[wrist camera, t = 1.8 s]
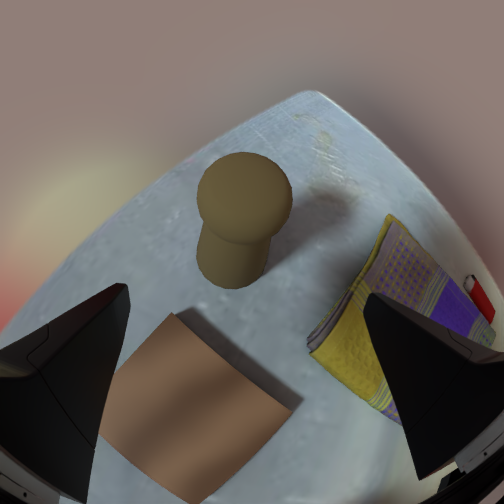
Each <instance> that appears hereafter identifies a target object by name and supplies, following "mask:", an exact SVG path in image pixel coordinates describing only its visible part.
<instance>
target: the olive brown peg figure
mask: <svg viewBox="0 0 504 504" xmlns="http://www.w3.org/2000/svg"><path fill="white" fill-rule="evenodd" d="M292 201H293V198H292V187H291V185H290V183H289V181H288V178H287V176H286V174H285V173H284V172H283V170H282V169H281V168H280V167H279V166H278V165H277V164H276V163H275V162H273V161H272V160H270V159H268V158H267V157H265V156H262V155H259V154H256V153H248V152H238V153H232V154H229V155H226V156H224V157H222V158H220V159H218V160H216V161H215V162H214V163H213V164H212V165H211V166H210V167H208V168H207V169H206V171H205V173H204V175H203V176H202V178H201V180H200V182H199V185H198V192H197V205H198V209H199V213H200V216H201V218H202V220H203V221H204V222H203V226H202V230H201V234H200V238H199V242H198V246H197V255H196V259H197V263H198V266H199V269H200V271H201V272H202V274H203V275H204V277H205V278H206V279H208V280H209V281H210V282H211V283H213V284H214V285H216V286H219V287H222V288H225V289H239V288H242V287H246V286H248V285H250V284H251V283H253V282H254V281H256V280H257V279H258V277H259V276H260V275H261V274H262V272H263V270H264V267H265V264H266V261H267V256H268V251H269V246H270V240H271V236H273V235H274V234H276V233H278V231H279V230H280V229H281V228H282V226H283V225H284V224H285V222H286V221H287V219H288V218H289V214H290V211H291V208H292Z"/></svg>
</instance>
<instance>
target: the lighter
mask: <svg viewBox="0 0 504 504" xmlns="http://www.w3.org/2000/svg"><path fill="white" fill-rule="evenodd" d="M464 283H465V285H463V286H464V288H465V289H466V291H467V292H468V294H469V295H470V297H471V298H472V300H473V302H474V303H475V305H476V306H477V308H478V310H479V311H480V312H481V313H482V315H483V316H484V317H485V319H486V320H487V321H488V323H489V325H490V324H491V323H492V321H493V318H494V315H495V310H494V308H493V306H492V304H491V302H490V301H489V299H488V297H487V295H486V294H485V292H484V290H483V289H482V287H481V285H480V284H479V282H478V281H477V279H476V277H475V276H474V275H469V276H468V277H466V280H465V282H464Z"/></svg>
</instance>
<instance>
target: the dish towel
mask: <svg viewBox="0 0 504 504" xmlns="http://www.w3.org/2000/svg"><path fill="white" fill-rule="evenodd" d="M372 292H380V293H382V294H384V295H386V296H388V297H390V298H392V299H394V300H395V301H397V302H399V303H401V304H403V305H405V306H407V307H409V308H411V309H413V310H415V311H417V312H419V313H421V314H422V315H424V316H426V317H428V318H430V319H432V320H434V321H436V322H438V323H440V324H441V325H443V326H445V327H446V328H449V329H451V330H453V331H455V332H457V333H459V334H460V335H462V336H464V337H466V338H468V339H471V340H473V341H475V342H477V343H479V344H481V345H483V346H485V347H487V348H490V349H491V346H492V344H493V341H494V339H495V336H496V334H495V333H496V332H495V331H494V330H493V329H492V328H491V326H490V325H489V323H488V321H487V320H486V319H485V317H484V316H483V315H482V313H481V312H480V311H479V310H478V309H477V308H476V306H475V305H474V304H473V303H472V302H471V301H470V300H469V299H468V298H467V296H466V295H465V294H464V293H462V291H461V290H460V289H459V287H458V286H457V285H456V284H455V282H454V281H453V280H452V279H451V278H450V276H449V275H448V274H447V273H446V272H445V271H443V269H442V268H441V267H440V266H439V265H438V264H437V263H436V262H435V260H434V259H433V258H432V257H431V256H430V255H429V254H428V253H427V252H426V251H425V250H423V248H422V247H421V246H420V245H419V243H418V242H417V241H416V240H414V239H413V238H412V236H411V235H410V234H409V232H408V231H407V230H406V228H405V227H404V226H403V225H402V224H401V223H400V222H399V221H398V220H397V219H396V218H395V217H393V216H392V215H391V214H388V215H387V216H386V218H385V221H384V223H383V226H382V228H381V230H380V232H379V235H378V237H377V240H376V243H375V246H374V247H373V249H372V251H371V253H370V255H369V257H368V259H367V261H366V264H365V265H364V267H363V269H362V270H361V271H360V273H359V274H358V275H357V276H356V277H355V279H354V281H353V282H352V283H351V285H350V286H349V288H348V289H347V290H346V291H345V293H344V294H343V295H342V296H341V298H340V299H339V300H338V302H337V303H336V304H335V305H334V306H333V308H332V309H331V310H330V311H329V312H328V314H327V315H326V316H325V317H324V319H323V320H322V321H321V322H320V323H319V325H318V326H317V327H316V328H315V329H314V330H313V331H312V333H311V334H310V335H309V337H307V341H308V343H307V347H308V348H309V349H310V350H311V352H310V353H309V355H310V356H311V357H313V358H314V359H315V360H316V361H317V362H318V363H319V364H320V365H322V366H323V367H324V368H325V369H326V370H327V371H328V372H329V373H330V374H331V375H332V376H334V377H335V378H336V379H338V380H339V381H340V382H341V383H343V384H344V385H345V386H346V387H347V388H349V389H350V390H351V391H352V392H353V393H355V394H356V395H358V396H359V397H360V398H361V399H363V400H365V401H366V402H367V403H368V404H369V405H370V406H372V407H373V408H375V409H376V410H378V411H380V412H381V413H382V414H383V415H385V416H387V417H388V418H389V419H392V420H393V421H394V422H396V423H398V424H399V425H401V426H402V423H401V420H400V417H399V414H398V412H397V409H396V406H395V403H394V400H393V397H392V395H391V392H390V389H389V387H388V384H387V381H386V379H385V376H384V373H383V371H382V368H381V366H380V363H379V361H378V358H377V356H376V353H375V351H374V348H373V346H372V343H371V339H370V336H369V333H368V329H367V326H366V323H365V320H364V317H363V309H364V306H365V303H366V301H367V298H368V295H369V294H370V293H372Z"/></svg>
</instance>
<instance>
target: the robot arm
mask: <svg viewBox="0 0 504 504" xmlns="http://www.w3.org/2000/svg"><path fill="white" fill-rule="evenodd" d="M130 307H131V304H130V297H129V291H128V286H127V284H124V283H115V284H113V285H111V286H110V287H108V288H106V289H104V290H103V291H101V292H99V293H97V294H96V295H94V296H92V297H91V298H89V299H87V300H85V301H84V302H82V303H80V304H79V305H77V306H75V307H73V308H72V309H70V310H68V311H67V312H65V313H63V314H62V315H60V316H58V317H57V318H55V319H54V320H52V321H50V322H49V323H48V324H45V325H44V326H42V327H41V328H39V329H37V330H35V331H34V332H32V333H30V334H29V335H27V336H25V337H23V338H21V339H19V340H18V341H16V342H14V343H12V344H10V345H8V346H6V347H4V348H2V349H1V350H0V504H59V499H60V495H61V496H63V497H66V498H68V499H71V500H74V501H76V502H79V503H82V504H86V503H87V496H88V489H89V482H90V475H91V469H92V463H93V458H94V453H95V450H94V449H95V447H96V442H97V437H98V433H99V428H100V424H101V420H102V416H103V411H104V408H105V404H106V400H107V396H108V392H109V389H110V385H111V382H112V378H113V375H114V371H115V368H116V365H117V361H118V358H119V355H120V352H121V349H122V345H123V341H124V336H125V332H126V327H127V322H128V317H129V313H130ZM363 317H364V320H365V323H366V326H367V329H368V333H369V336H370V339H371V343H372V346H373V348H374V351H375V353H376V356H377V358H378V361H379V363H380V366H381V368H382V371H383V373H384V376H385V379H386V381H387V384H388V387H389V389H390V392H391V395H392V397H393V400H394V403H395V406H396V409H397V412H398V414H399V417H400V420H401V423H402V426H403V429H404V432H405V435H406V439H407V442H408V446H409V449H410V452H411V456H412V459H413V463H414V466H415V470H416V473H417V477H418V479H419V481H420V480H422V479H424V478H426V477H428V476H430V475H432V474H433V473H435V472H437V471H439V470H441V469H442V468H444V467H446V466H447V465H449V464H451V463H452V462H454V461H455V462H456V464H457V466H458V468H457V469H455V470H454V471H452V472H451V473H449V474H448V475H446V476H445V477H443V478H442V479H441V482H440V485H439V488H438V491H437V493H436V494H435V495H433V496H431V497H430V498H428V499H426V500H424V501H422V502H420V503H419V504H504V352H497V351H494V350H492V349H490V348H487V347H485V346H483V345H481V344H479V343H477V342H475V341H473V340H471V339H468V338H466V337H464V336H462V335H460V334H459V333H457V332H455V331H453V330H451V329H449V328H446V327H445V326H443V325H441V324H440V323H438V322H436V321H434V320H432V319H430V318H428V317H426V316H424V315H422V314H421V313H419V312H417V311H415V310H413V309H411V308H409V307H407V306H405V305H403V304H401V303H399V302H397V301H395V300H394V299H392V298H390V297H388V296H386V295H384V294H382V293H380V292H372V293H370V294H369V295H368V298H367V301H366V303H365V306H364V309H363Z"/></svg>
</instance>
